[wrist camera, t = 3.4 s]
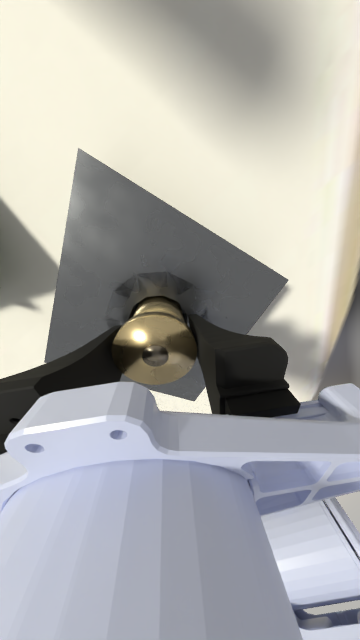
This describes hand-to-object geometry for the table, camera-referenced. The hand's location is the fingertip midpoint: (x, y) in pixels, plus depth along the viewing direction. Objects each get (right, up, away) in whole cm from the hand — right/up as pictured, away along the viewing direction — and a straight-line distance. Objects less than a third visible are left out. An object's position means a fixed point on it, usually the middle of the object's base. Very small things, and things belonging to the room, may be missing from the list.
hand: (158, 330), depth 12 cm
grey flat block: (0, +2, +4) cm, 5 cm away
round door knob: (0, +2, +4) cm, 4 cm away
